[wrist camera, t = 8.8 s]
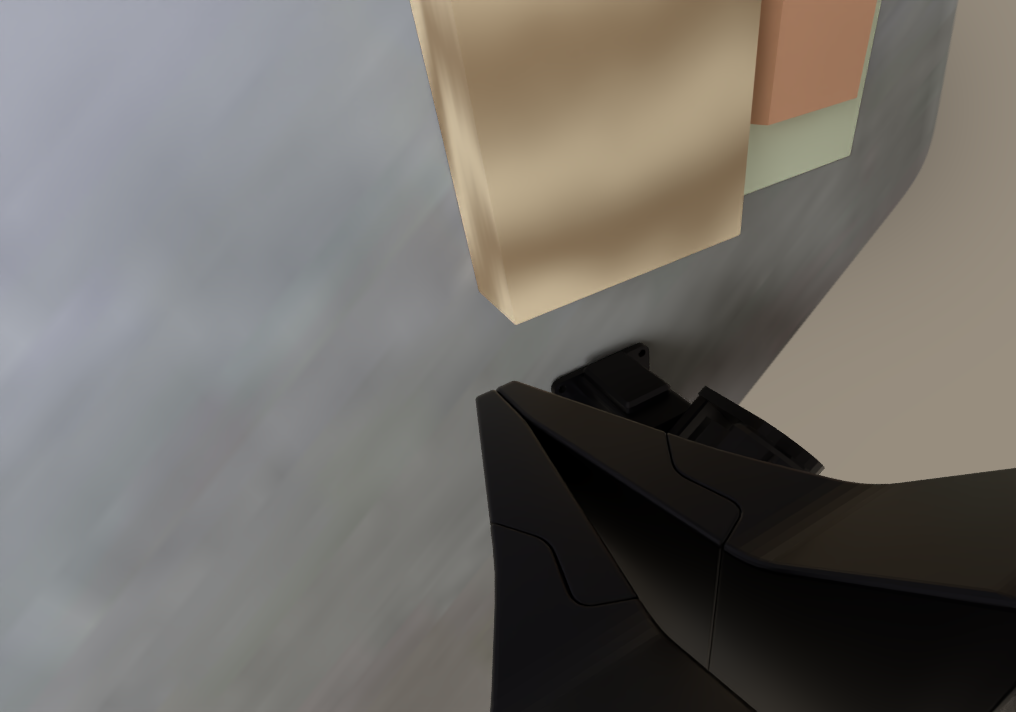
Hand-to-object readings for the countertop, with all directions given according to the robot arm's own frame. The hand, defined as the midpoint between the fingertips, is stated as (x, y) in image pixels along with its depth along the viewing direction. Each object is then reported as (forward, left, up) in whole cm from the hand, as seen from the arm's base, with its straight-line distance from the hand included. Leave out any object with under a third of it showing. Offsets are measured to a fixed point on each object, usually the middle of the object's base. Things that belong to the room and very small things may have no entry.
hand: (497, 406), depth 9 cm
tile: (+4, -22, -11) cm, 25 cm away
